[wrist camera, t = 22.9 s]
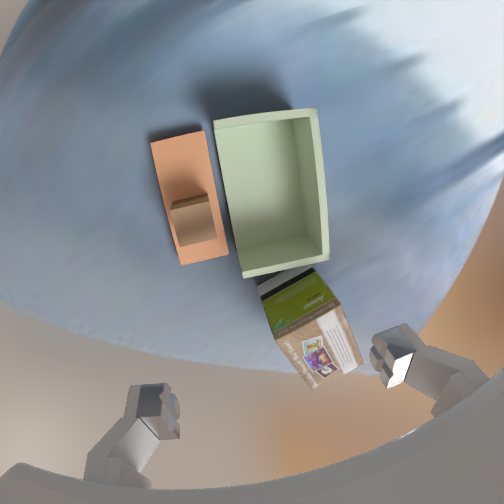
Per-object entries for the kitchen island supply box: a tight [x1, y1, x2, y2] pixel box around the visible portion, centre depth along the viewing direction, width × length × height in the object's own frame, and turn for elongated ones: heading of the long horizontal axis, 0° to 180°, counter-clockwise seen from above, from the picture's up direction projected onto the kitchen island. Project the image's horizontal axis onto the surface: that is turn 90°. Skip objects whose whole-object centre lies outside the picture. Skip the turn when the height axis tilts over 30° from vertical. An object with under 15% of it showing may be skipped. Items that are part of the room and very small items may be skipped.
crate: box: [213, 108, 330, 279], centre depth 36 cm, size 20×12×8 cm, turn 9°
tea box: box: [257, 264, 363, 391], centre depth 43 cm, size 15×10×15 cm, turn 28°
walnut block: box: [170, 193, 217, 247], centre depth 36 cm, size 5×5×5 cm
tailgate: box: [150, 130, 229, 265], centre depth 38 cm, size 19×1×8 cm
